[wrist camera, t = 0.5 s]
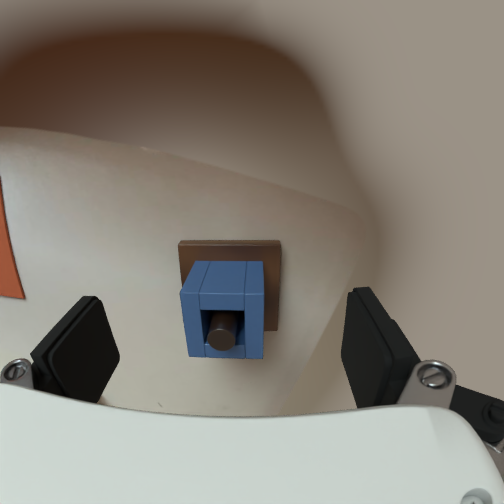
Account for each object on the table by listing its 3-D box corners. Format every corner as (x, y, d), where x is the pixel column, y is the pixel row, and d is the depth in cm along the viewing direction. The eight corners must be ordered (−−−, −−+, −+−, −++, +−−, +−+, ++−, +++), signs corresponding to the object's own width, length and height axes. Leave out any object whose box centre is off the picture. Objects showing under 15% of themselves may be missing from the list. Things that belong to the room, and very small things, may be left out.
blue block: (195, 260, 27) (179, 292, 21) (263, 260, 26) (264, 293, 21) (200, 317, 29) (188, 356, 23) (262, 318, 29) (263, 359, 23)
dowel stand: (180, 240, 27) (150, 282, 19) (279, 240, 27) (288, 284, 19) (189, 322, 30) (170, 380, 22) (276, 324, 30) (282, 384, 22)
